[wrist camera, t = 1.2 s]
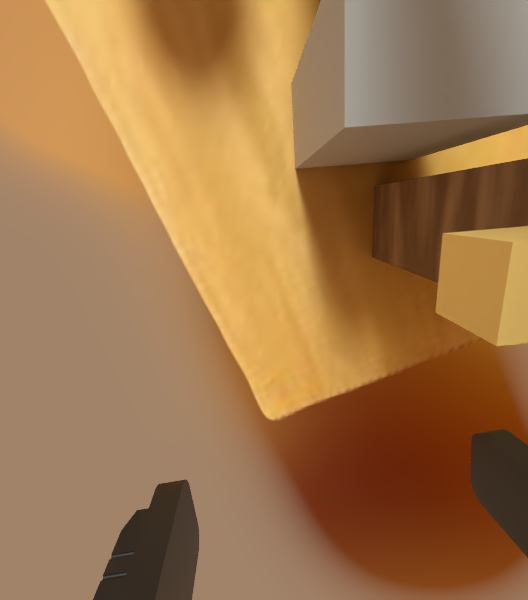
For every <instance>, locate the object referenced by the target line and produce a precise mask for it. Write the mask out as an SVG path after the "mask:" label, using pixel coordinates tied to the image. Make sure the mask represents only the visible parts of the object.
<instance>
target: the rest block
mask: <svg viewBox="0 0 528 600" xmlns="http://www.w3.org/2000/svg"><path fill="white" fill-rule="evenodd" d="M292 103H293V126H294V149H295V169H300V168H313V167H326V166H338V165H351V164H364V163H377V162H390V161H402V160H412V159H415V158H419V157H422V156H425V155H429V154H432V153H435V152H439V151H442V150H445V149H449V148H452V147H455V146H459V145H462V144H465V143H469V142H472V141H475V140H479V139H482V138H485V137H489V136H492V135H495V134H499V133H502V132H505V131H509V130H512V129H515V128H519V127H522V126H525V125H528V0H321V1H320V4H319V7H318V10H317V13H316V15H315V18H314V21H313V24H312V27H311V30H310V33H309V35H308V38H307V41H306V44H305V47H304V50H303V53H302V55H301V58H300V61H299V64H298V67H297V70H296V73H295V75H294V78H293V81H292Z"/></svg>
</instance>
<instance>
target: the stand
mask: <svg viewBox="0 0 528 600" xmlns="http://www.w3.org/2000/svg"><path fill="white" fill-rule="evenodd" d="M522 226H528V159H522V160H517V161H511V162H506V163H500V164H495V165H489V166H483V167H478V168H472V169H467V170H461V171H456V172H450V173H444V174H439V175H433V176H428V177H422V178H417V179H411V180H405V181H400V182H394V183H389V184H383V185H378V186H375V188H374V226H373V257H374V258H376V259H379V260H381V261H384V262H386V263H389V264H392V265H394V266H397V267H399V268H402V269H405V270H407V271H410V272H412V273H415V274H418V275H420V276H423V277H425V278H428V279H430V280H433V281H436V282H438V280H439V269H440V258H441V247H442V236H443V233H451V232H463V231H475V230H487V229H498V228H510V227H522Z"/></svg>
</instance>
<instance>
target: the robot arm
mask: <svg viewBox="0 0 528 600" xmlns="http://www.w3.org/2000/svg"><path fill="white" fill-rule="evenodd" d="M471 443H472V444H471V445H472V446H471V483H472V487H473V490H474V492H475V495H476V496H477V498H478V500H479V501H480V503H481V504H482V505H483V507H484V508H485V509H486V510H487V511H488V512H489V513H490V515H491V516H492V517H493V518H494V519H495V521H496V522H497V523H498V524H499V525H500V526H501V527H502V529H503V530H504V531H505V532H506V533H507V534H508V535H509V537H510V538H511V539H512V540H513V541H514V542H515V543H516V545H517V546H518V547H519V548H520V549H521V550H522V552H523V553H524V554H525V555H526V556H527V557H528V445H526V444H525V443H524V442H523V441H521V440H520V439H519V438H517V437H516V436H514V435H513V434H512V433H510V432H509V431H507V430H504V429H500V430H493V431H488V432H481V433H476V434H474V435H473V436H472V442H471ZM198 551H199V528H198V522H197V518H196V513H195V509H194V504H193V500H192V495H191V491H190V486H189V483H188V481H187V480H181V481H175V482H168V483H162V484H159V485H158V486H157V487H156V489H155V492H154V495H153V498H152V501H151V504H150V507H149V508H148V509H142V510H137V511H136V512H135V514H134V515H133V516H132V518H131V519H130V520H129V522H128V523H127V524H126V525H125V527H124V528H123V529H122V531H121V533H120V535H119V538H118V540H117V543H116V545H115V547H114V550H113V552H112V557H111V559H110V560H109V562H108V564H107V567H106V569H105V572H104V574H103V580H102V581H101V582H100V584H99V586H98V589H97V591H96V594H95V596H94V599H93V600H192V594H193V587H194V579H195V573H196V565H197V559H198Z"/></svg>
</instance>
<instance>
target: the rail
mask: <svg viewBox="0 0 528 600" xmlns="http://www.w3.org/2000/svg"><path fill="white" fill-rule="evenodd" d="M436 313H437V314H439V315H441V316H443V317H444V318H446V319H448V320H450V321H452V322H453V323H455V324H457V325H459V326H461V327H463V328H464V329H466V330H468V331H470V332H472V333H473V334H475V335H477V336H479V337H481V338H482V339H484V340H486V341H488V342H490V343H491V344H494V345H495V346H503V345H514V344H525V343H528V226H522V227H510V228H498V229H487V230H475V231H463V232H451V233H443V236H442V247H441V258H440V269H439V280H438V291H437V302H436Z"/></svg>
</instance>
